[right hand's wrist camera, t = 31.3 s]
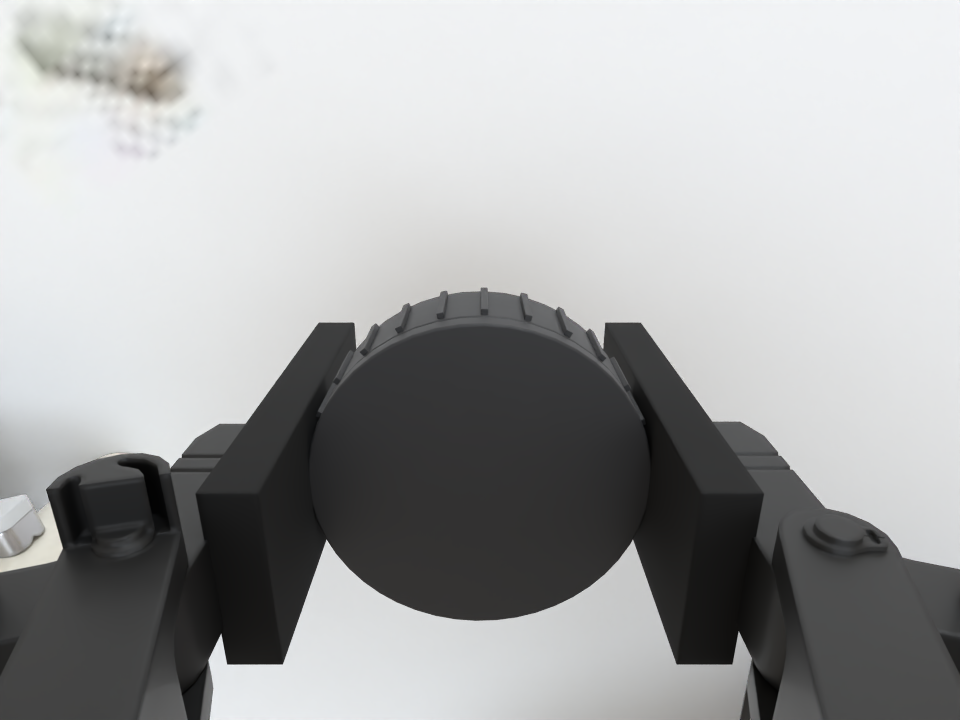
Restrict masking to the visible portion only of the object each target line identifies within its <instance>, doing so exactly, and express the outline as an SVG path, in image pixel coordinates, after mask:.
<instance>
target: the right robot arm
mask: <svg viewBox="0 0 960 720" xmlns="http://www.w3.org/2000/svg"><path fill="white" fill-rule="evenodd" d="M350 350H351V351H352V352H355V351H356V340H355V326H354V323H318V325H317V326H316V327H315V329H314V330H313V332H312V333H311V334H310V336H309V337H308V338H307V340H306V341H305V343H304V344H303V345H302V347H301V348H300V350H299V351H298V352H297V354H296V355H295V356H294V358H293V359H292V361H291V362H290V363H289V365H288V366H287V367H286V369H285V370H284V372H283V373H282V374H281V376H280V377H279V379H278V380H277V381H276V383H275V384H274V385H273V387H272V388H271V390H270V391H269V392H268V394H267V395H266V397H265V398H264V399H263V401H262V402H261V403H260V405H259V406H258V408H257V409H256V410H255V412H254V413H253V414H252V416H251V417H250V419H249V420H248V421H247V423H246V424H219V425H217V426H215V427H214V428H212V429H210V430H209V431H207V432H205V433H204V434H202V435H200V436H199V437H197V438H196V439H195V440H194V441H193V442H192V443H191V445H190V446H189V447H188V448H187V449H186V451H185V452H184V453H183V454H182V458H179V459H178V460H177V461H176V462H175V464H174V465H173V466H172V467H171V468H170V467H169V463H168V462H166V461H165V460H163V459H162V458H161V457H159V456H154V455H149V454H144V453H137V454H120V455H115V456H110V457H105V458H100V459H97V460H94V461H91V462H88V463H86V464H83V465H80V466H77V467H75V468H73V469H72V470H70V471H68V472H67V473H65V474H63V475H61V476H60V477H58V478H57V479H56V480H55V481H54V482H53V483H52V484H51V485H50V486H49V487H48V488H47V489H46V491H47V494H48V498H49V501H50V505H51V508H52V512H53V515H54V519H55V522H56V526H57V529H58V533H59V537H60V540H61V544H62V547H63V549H62V551H61V553H60V555H59V557H58V560H57V561H54V562H50V563H46V564H41V565H36V566H31V567H26V568H21V569H15V570H10V571H5V572H0V720H210V711H211V703H212V694H213V683H212V677H211V671H210V666H209V661H208V660H209V657H210V655H211V653H212V651H213V649H214V647H215V645H216V643H217V641H218V639H219V637H220V635H221V634H222V639H223V644H224V650H225V655H226V660H227V664H283V662H284V660H285V657H286V654H287V651H288V648H289V645H290V642H291V639H292V637H293V634H294V631H295V628H296V625H297V622H298V619H299V617H300V614H301V611H302V608H303V605H304V602H305V599H306V596H307V594H308V591H309V588H310V585H311V582H312V579H313V576H314V574H315V571H316V568H317V565H318V562H319V559H320V556H321V554H322V551H323V548H324V545H325V542H326V538H325V535H324V533H323V531H322V529H321V527H320V525H319V523H318V521H317V518H316V515H315V512H314V508H313V503H312V495H311V486H310V476H309V466H308V459H309V452H310V446H311V441H312V438H313V434H314V431H315V428H316V425H317V422H318V420H319V418H318V417H316V414H317V411H318V409H319V407H320V406H321V404H322V402H323V400H324V398H325V396H326V394H327V392H328V390H329V388H330V386H331V385H332V383H333V380H334V379H335V377H336V375H337V373H338V371H339V369H340V367H341V365H342V363H343V361H344V359H345V358H346V356H347V354H348V352H349V351H350ZM603 350H604V351H605V353H606V354H607V355H608V357H609V359H610V358H612V357H614V358H615V359H616V361H617V363H618V365H619V367H620V368H621V370H622V372H623V374H624V376H625V378H626V380H627V382H628V384H629V386H630V387H631V390H630V392H631V394H632V396H633V397H634V399H635V401H636V403H637V405H638V407H639V409H640V411H641V413H642V415H643V417H644V419H645V422H646V424H645V425H643V427H644V429H645V432H646V436H647V440H648V444H649V448H650V455H651V472H650V482H649V491H648V499H647V507H646V511H645V514H644V516H643V519H642V521H641V524H640V527H639V529H638V531H637V532H636V534H635V536H634V538H633V540H634V543H635V546H636V549H637V552H638V555H639V558H640V560H641V563H642V566H643V569H644V572H645V575H646V578H647V580H648V583H649V586H650V589H651V592H652V595H653V598H654V601H655V603H656V606H657V609H658V612H659V615H660V618H661V621H662V623H663V626H664V629H665V632H666V635H667V638H668V641H669V643H670V646H671V649H672V652H673V655H674V658H675V661H676V664H732V663H733V658H734V653H735V647H736V642H737V637H738V631H739V632H740V634H741V636H742V638H743V641H744V643H745V645H746V647H747V649H748V651H749V653H750V655H751V657H752V661H751V666H750V671H749V676H748V681H747V686H746V691H745V696H744V701H743V706H742V711H741V716H740V720H750V718H751V720H960V569H955V568H950V567H944V566H939V565H934V564H929V563H924V562H919V561H914V560H910V559H906V558H902V556H901V554H900V552H899V550H898V548H897V547H896V546H895V544H894V543H893V542H892V541H891V539H890V538H889V537H888V536H887V534H885V533H884V532H882V531H881V530H879V529H878V528H876V527H875V526H873V525H872V524H870V523H869V522H866V521H864V520H862V519H859V518H857V517H855V516H852V515H850V514H847V513H843V512H839V511H834V510H830V509H826V508H825V507H824V506H823V505H822V504H821V503H820V501H819V500H818V499H817V498H816V497H815V495H814V494H813V493H812V492H811V491H810V490H809V488H808V487H807V486H806V485H805V484H804V483H803V481H802V480H801V479H800V478H799V477H798V475H797V474H796V473H795V472H794V471H793V470H790V466H789V465H788V464H787V462H786V461H785V460H784V459H783V458H782V457H781V456H778V452H777V451H776V449H775V448H774V447H773V446H772V445H771V444H770V442H769V441H768V440H767V439H766V438H765V436H763V435H762V434H760V433H758V432H757V431H755V430H753V429H751V428H750V427H748V426H746V425H745V424H743V423H741V422H712V421H711V419H710V418H709V416H708V415H707V414H706V412H705V411H704V410H703V408H702V407H701V405H700V404H699V403H698V401H697V400H696V399H695V397H694V396H693V394H692V393H691V392H690V390H689V389H688V387H687V386H686V385H685V383H684V382H683V381H682V379H681V378H680V376H679V375H678V374H677V372H676V371H675V369H674V368H673V367H672V365H671V364H670V363H669V361H668V360H667V358H666V357H665V356H664V354H663V353H662V351H661V350H660V349H659V347H658V346H657V345H656V343H655V342H654V340H653V339H652V338H651V336H650V335H649V334H648V332H647V331H646V329H645V328H644V327H643V325H642V324H641V323H605V334H604V348H603Z"/></svg>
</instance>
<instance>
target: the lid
mask: <svg viewBox="0 0 960 720" xmlns="http://www.w3.org/2000/svg"><path fill="white" fill-rule="evenodd" d="M630 390H631V387H630V386H629V384H628V382H627V380H626V378H625V376H624V374H623V372H622V370H621V368H620V367H619V365H618V363H617V361H616V359H615V358H614V357H612V358H610V359H609V357H608V355H607V354H606V353H605V351H604V350H603V349H602V348H601V346H600V344H599V342H598V340H597V338H596V336H595V334H594V332H593V331H592V330H591V329H589V330H588V331H587V332H586V331H585V330H584V329H583V328H582V327H581V326H580V325H578V324H577V323H575V322H574V321H573V320H571V319H570V318H568V317H567V316H566V315H565V312H564V310H563V309H562V308H560V307H558V308H557V310H554V309H552V308H550V307H549V306H547V305H544V304H542V303H539V302H536V301H533V300H530V299H528V296H527V294H524V293H521V295H520V296H515V295H511V294H506V293H496V292H488V290H487V288H481V292H461V293H455V294H449V295H448V293H447V291H443V292H441V294H440V296H439V297H436V298H433V299H429V300H426V301H423V302H420V303H418V304H416V305H414V306H410V304H409V303H408V304H406V305H404V306H403V308H402V311H401V312H399V313H398V314H396V315H395V316H393V317H391V318H390V319H388V320H387V321H385V322H384V323H383V324H382V325H380V326H378V325H377V324H374V325H373V326H372V327H371V329H370V331H369V333H368V336H367V338H366V339H365V340H364V341H363V342H362V343H361V345H360V346H359V347H358V348H357V349H356V351H355V352H352V351H351V350H350V351H349V352H348V354H347V356H346V358H345V359H344V361H343V363H342V365H341V367H340V369H339V371H338V373H337V375H336V377H335V379H334V380H333V383H332V385H331V386H330V388H329V390H328V392H327V394H326V396H325V398H324V400H323V402H322V404H321V406H320V407H319V409H318V411H317V414H316V417H318V418H319V420H318V422H317V425H316V428H315V431H314V434H313V438H312V441H311V446H310V452H309V459H308V466H309V476H310V486H311V495H312V503H313V508H314V512H315V515H316V518H317V521H318V523H319V525H320V527H321V529H322V531H323V533H324V535H325V538H326V539H327V541H328V542H329V544H330V545H331V547H332V548H333V550H334V551H335V553H336V554H337V555H338V556H339V558H340V559H341V560H342V561H343V562H344V563H345V564H346V566H347V567H348V568H349V569H350V570H351V571H352V572H353V573H355V574H356V575H357V576H358V577H359V578H360V579H361V580H362V581H363V582H365V583H366V584H368V585H369V586H371V587H372V588H373V589H375V590H376V591H378V592H379V593H381V594H383V595H385V596H386V597H388V598H390V599H392V600H394V601H396V602H397V603H400V604H402V605H405V606H407V607H410V608H412V609H415V610H418V611H421V612H425V613H428V614H431V615H435V616H440V617H446V618H452V619H460V620H474V621H479V620H500V619H507V618H515V617H519V616H524V615H528V614H532V613H536V612H539V611H542V610H544V609H547V608H550V607H553V606H555V605H557V604H559V603H562V602H564V601H566V600H568V599H570V598H572V597H574V596H575V595H577V594H578V593H580V592H582V591H583V590H585V589H586V588H588V587H589V586H591V585H592V584H593V583H594V582H596V581H597V580H598V579H599V578H601V577H602V576H603V575H604V574H605V573H606V572H607V571H608V570H609V569H610V568H611V567H612V566H613V565H614V564H615V563H616V562H617V561H618V560H619V558H620V557H621V556H622V554H623V553H624V552H625V550H626V549H627V548H628V546H629V545H630V543H631V542H632V540H633V538H634V536H635V534H636V532H637V531H638V529H639V527H640V524H641V521H642V519H643V516H644V514H645V511H646V507H647V499H648V491H649V482H650V472H651V455H650V448H649V444H648V440H647V436H646V432H645V429H644V427H643V425H645V424H646V422H645V419H644V417H643V415H642V413H641V411H640V409H639V407H638V405H637V403H636V401H635V399H634V397H633V396H632V394H631V392H630Z"/></svg>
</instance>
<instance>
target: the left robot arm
mask: <svg viewBox="0 0 960 720" xmlns="http://www.w3.org/2000/svg"><path fill="white" fill-rule="evenodd" d="M44 530H45V526H44V525H43V523H42V521H41V519H40V517H39V516H38V514H37V512H36V510H35V509H34V507H33V505H32V503H31V502H30V500H29V498H28V496H27V495H25V494H23V495H18V496H14V497H9V498H4V499H0V558H8V557H11V556H14V555H16V554H18V553H20V552H21V551H23V550H25V549H26V548H27V547H28V546H29V545H30V544H31V543H32V540H33V537H36V536H40V535H41V534H42V533H43V532H44Z"/></svg>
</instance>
